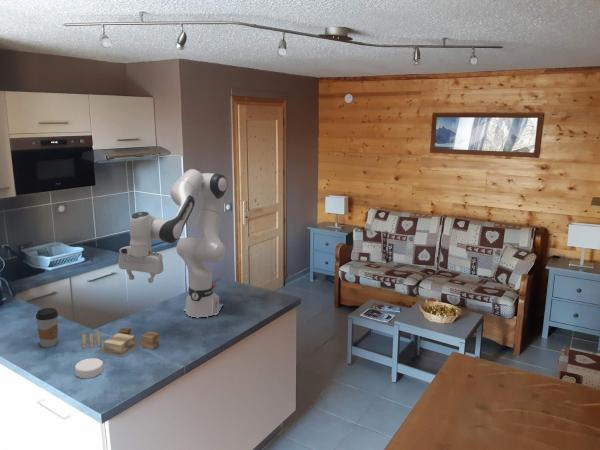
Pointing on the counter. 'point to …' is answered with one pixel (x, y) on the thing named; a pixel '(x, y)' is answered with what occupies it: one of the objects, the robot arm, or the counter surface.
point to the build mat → (137, 344)
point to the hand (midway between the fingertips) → (141, 280)
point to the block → (125, 331)
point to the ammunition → (91, 340)
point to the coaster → (89, 368)
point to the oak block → (150, 340)
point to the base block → (119, 343)
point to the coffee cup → (47, 326)
